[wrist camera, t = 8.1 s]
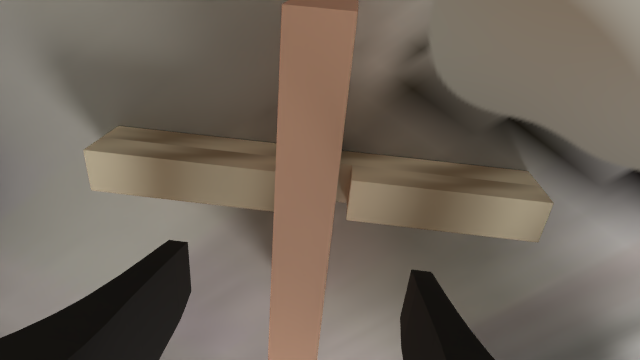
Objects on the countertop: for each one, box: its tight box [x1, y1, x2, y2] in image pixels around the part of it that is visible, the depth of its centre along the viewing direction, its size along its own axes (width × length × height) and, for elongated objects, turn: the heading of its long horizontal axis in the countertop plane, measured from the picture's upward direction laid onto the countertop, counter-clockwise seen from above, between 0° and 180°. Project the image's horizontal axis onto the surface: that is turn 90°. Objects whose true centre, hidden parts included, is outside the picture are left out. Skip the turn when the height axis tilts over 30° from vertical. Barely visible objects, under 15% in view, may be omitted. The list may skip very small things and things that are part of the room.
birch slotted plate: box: [83, 126, 554, 242], centre depth 20 cm, size 20×2×3 cm, turn 85°
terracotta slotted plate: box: [268, 0, 358, 360], centre depth 18 cm, size 16×2×7 cm, turn 175°
